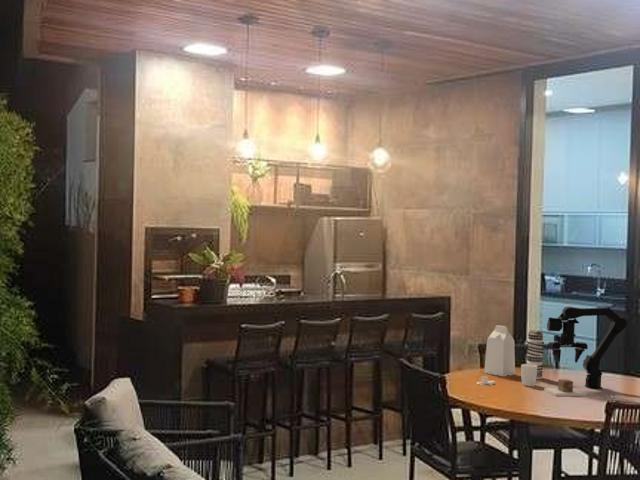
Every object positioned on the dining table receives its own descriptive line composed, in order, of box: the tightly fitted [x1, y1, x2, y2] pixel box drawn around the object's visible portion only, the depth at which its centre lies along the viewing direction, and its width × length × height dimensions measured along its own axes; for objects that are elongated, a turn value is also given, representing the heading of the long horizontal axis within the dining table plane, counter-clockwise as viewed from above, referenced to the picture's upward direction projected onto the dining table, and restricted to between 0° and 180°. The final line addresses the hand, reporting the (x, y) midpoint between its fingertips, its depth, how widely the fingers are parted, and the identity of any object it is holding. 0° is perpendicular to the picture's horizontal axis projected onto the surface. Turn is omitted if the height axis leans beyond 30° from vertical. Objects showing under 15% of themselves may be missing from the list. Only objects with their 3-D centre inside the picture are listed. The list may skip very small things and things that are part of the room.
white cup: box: [520, 363, 537, 387], centre depth 398 cm, size 8×8×10 cm
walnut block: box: [557, 379, 574, 392], centre depth 380 cm, size 5×5×5 cm
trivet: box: [544, 387, 588, 397], centre depth 380 cm, size 16×12×1 cm
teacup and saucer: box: [476, 375, 496, 386], centre depth 398 cm, size 9×8×4 cm
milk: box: [483, 324, 516, 377], centre depth 428 cm, size 12×12×26 cm
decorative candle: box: [526, 329, 545, 380], centre depth 420 cm, size 9×9×25 cm
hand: (567, 362), depth 398 cm, fingers open, 9 cm apart
